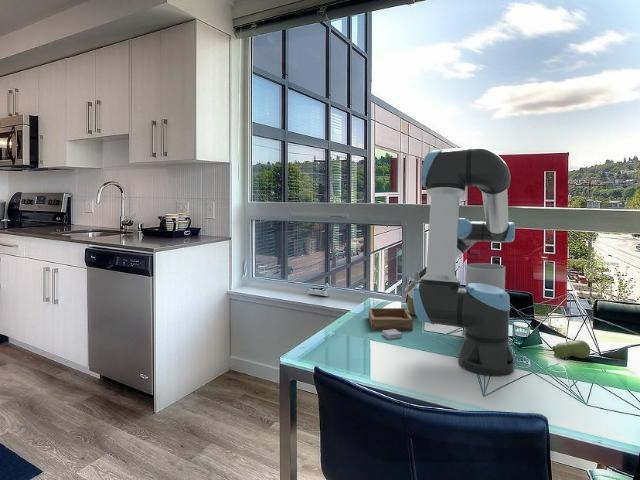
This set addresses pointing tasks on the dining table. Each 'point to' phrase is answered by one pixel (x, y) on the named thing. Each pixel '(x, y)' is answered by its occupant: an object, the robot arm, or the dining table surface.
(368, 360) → the dining table surface
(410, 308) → the squeeze bottle
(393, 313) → the tray
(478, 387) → the dining table surface
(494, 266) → the cylinder vase
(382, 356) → the dining table surface
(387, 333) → the grey flat block
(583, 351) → the pear
